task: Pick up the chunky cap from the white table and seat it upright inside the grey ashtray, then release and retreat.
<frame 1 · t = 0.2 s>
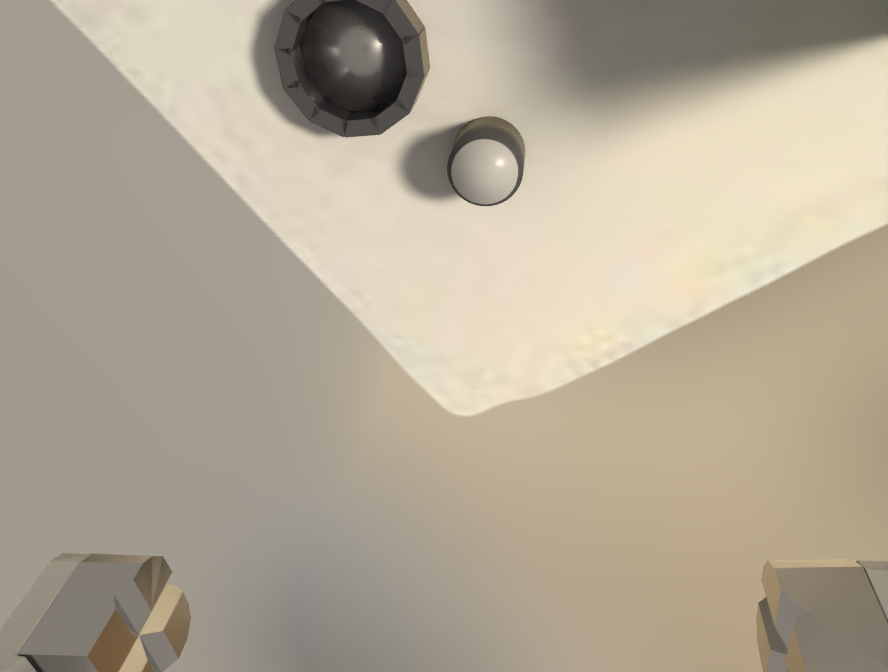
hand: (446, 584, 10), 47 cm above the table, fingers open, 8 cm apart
grey ashtray: (357, 54, 52), on the table
cap: (489, 152, 55), on the table
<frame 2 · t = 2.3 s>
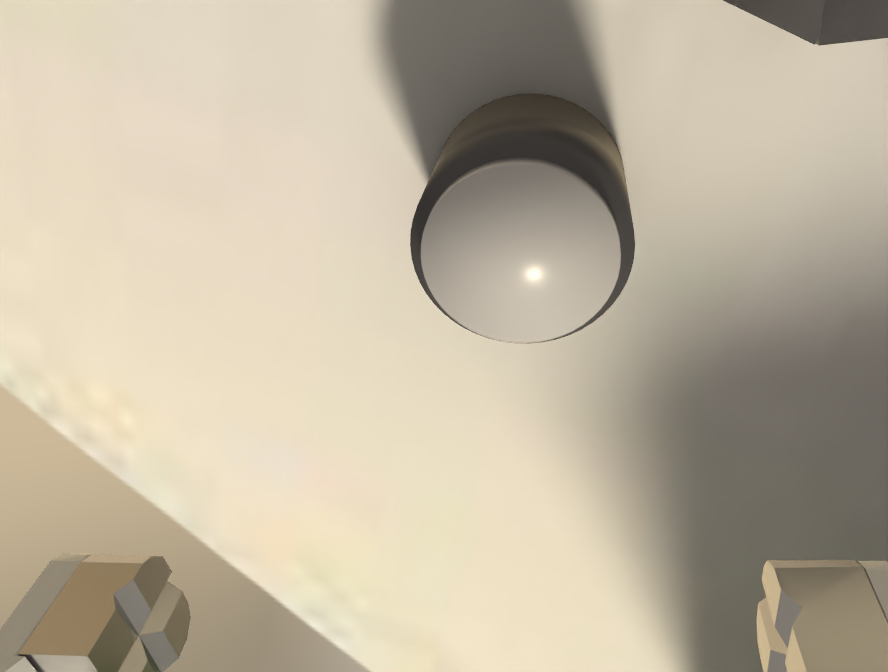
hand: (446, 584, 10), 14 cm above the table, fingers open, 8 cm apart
cap: (528, 188, 21), on the table
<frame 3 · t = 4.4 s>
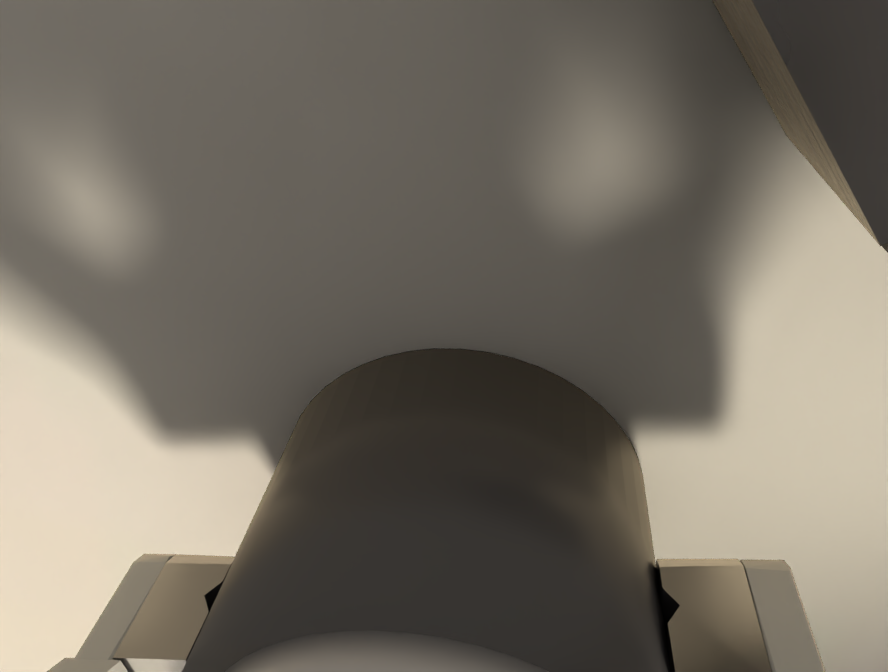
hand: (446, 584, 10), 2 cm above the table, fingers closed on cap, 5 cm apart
cap: (460, 495, 11), on the table, touching gripper
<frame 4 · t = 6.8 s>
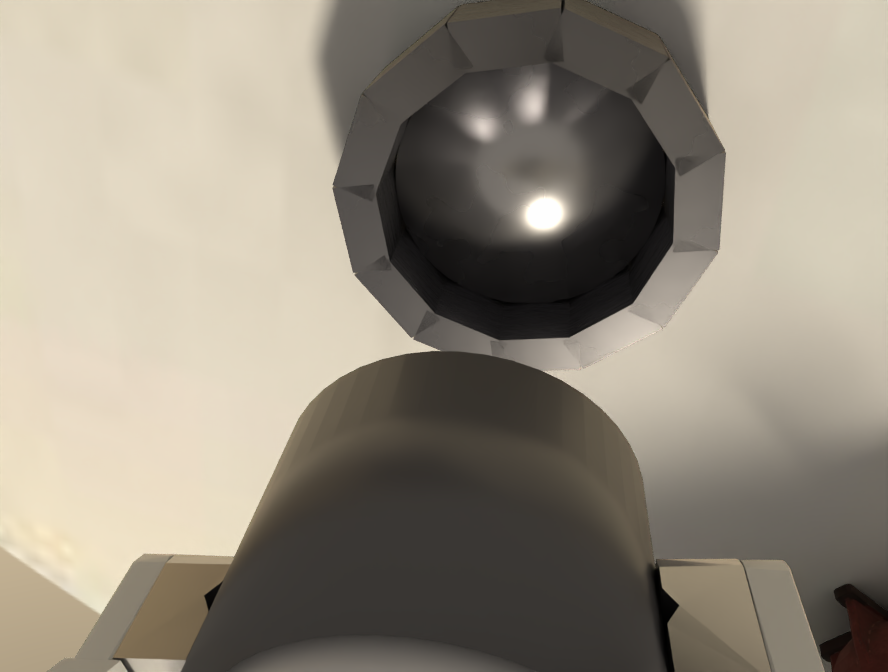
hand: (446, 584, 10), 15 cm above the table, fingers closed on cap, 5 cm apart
mate gourd: (873, 619, 30), on the table
grey ashtray: (527, 182, 22), on the table
cap: (459, 498, 11), point 13 cm above the table, touching gripper
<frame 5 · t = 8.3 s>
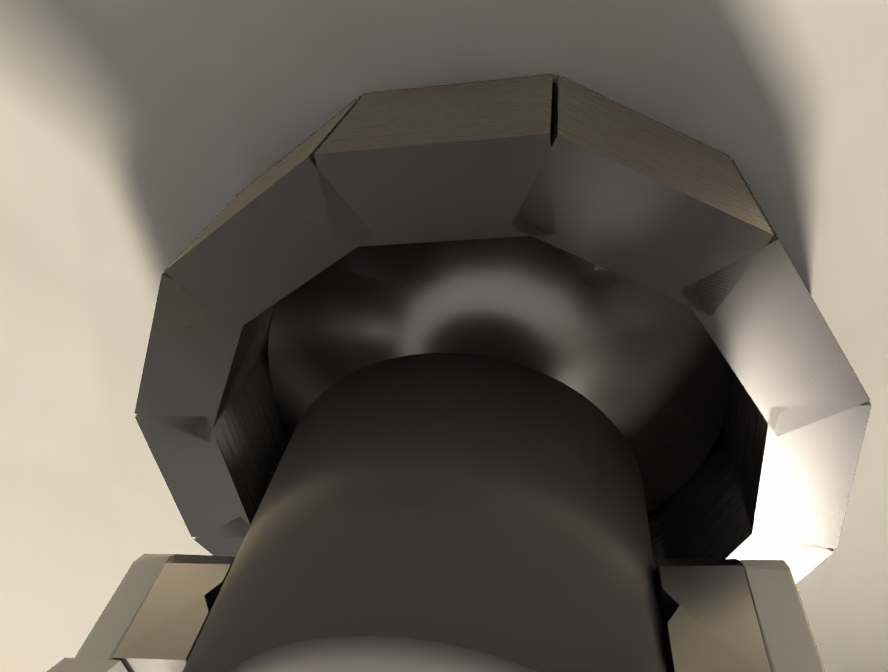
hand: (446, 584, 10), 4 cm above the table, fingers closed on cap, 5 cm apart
grey ashtray: (491, 378, 13), on the table
cap: (460, 499, 11), point 3 cm above the table, touching gripper
when the fingers open (4 cm above the table, at t = 9.2 s): cap drops 2 cm, resting on grey ashtray.
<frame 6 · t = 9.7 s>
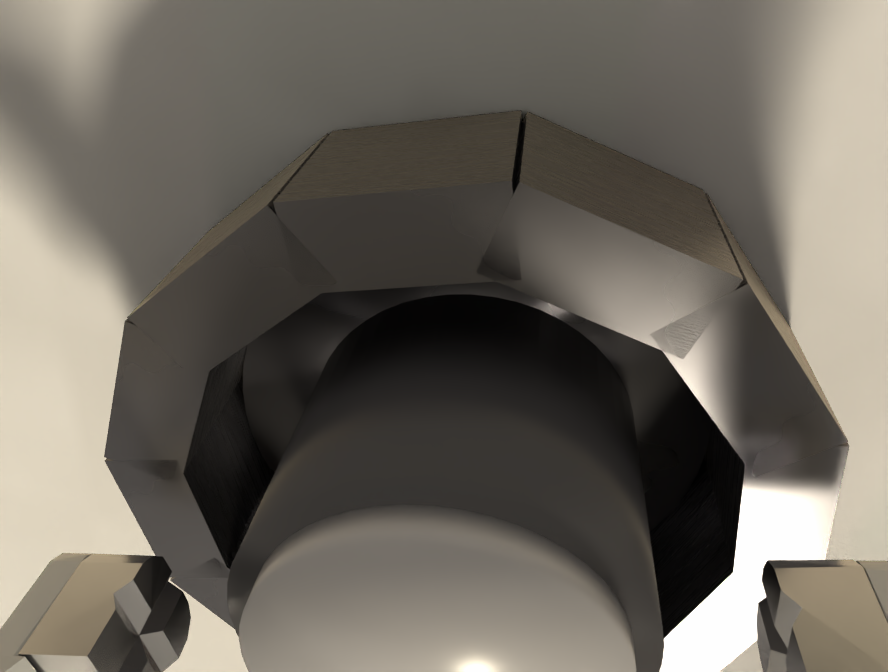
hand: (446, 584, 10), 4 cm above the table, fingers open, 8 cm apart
grey ashtray: (470, 410, 13), on the table
cap: (470, 432, 12), point 1 cm above the table, touching grey ashtray
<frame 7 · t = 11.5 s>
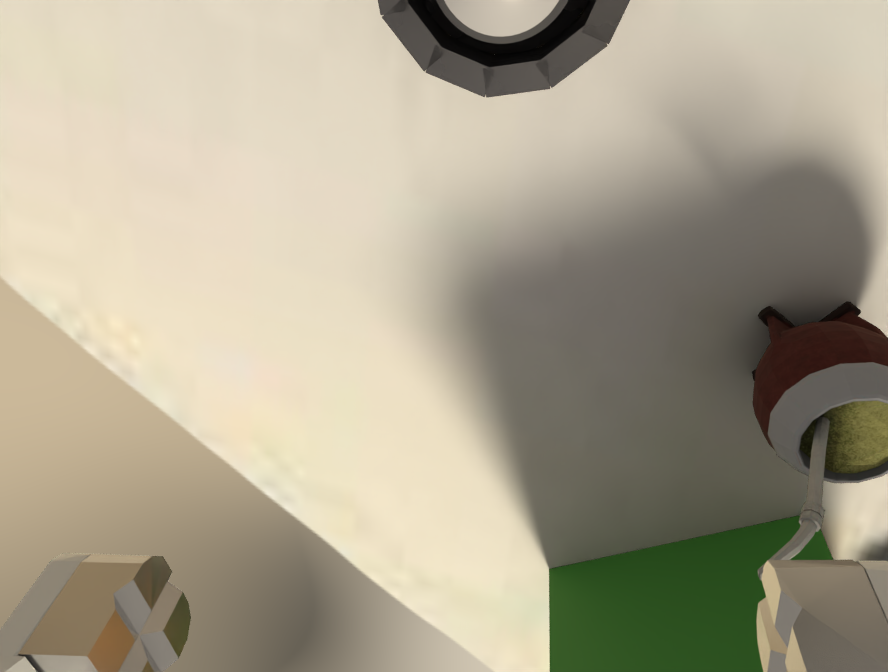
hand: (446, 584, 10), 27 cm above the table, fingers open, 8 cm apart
mate gourd: (791, 342, 38), on the table
hardback book: (688, 574, 49), on the table
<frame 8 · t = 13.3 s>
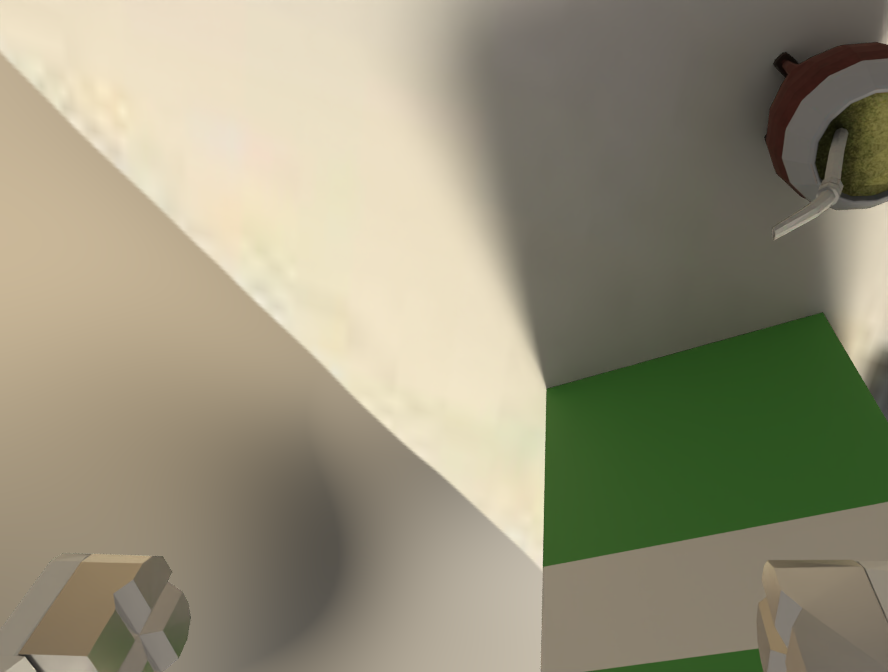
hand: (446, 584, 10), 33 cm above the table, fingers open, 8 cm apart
mate gourd: (806, 99, 37), on the table
hardback book: (690, 394, 48), on the table
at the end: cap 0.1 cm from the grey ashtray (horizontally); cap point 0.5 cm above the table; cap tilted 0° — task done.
